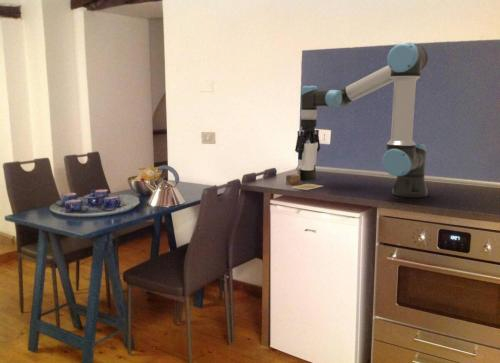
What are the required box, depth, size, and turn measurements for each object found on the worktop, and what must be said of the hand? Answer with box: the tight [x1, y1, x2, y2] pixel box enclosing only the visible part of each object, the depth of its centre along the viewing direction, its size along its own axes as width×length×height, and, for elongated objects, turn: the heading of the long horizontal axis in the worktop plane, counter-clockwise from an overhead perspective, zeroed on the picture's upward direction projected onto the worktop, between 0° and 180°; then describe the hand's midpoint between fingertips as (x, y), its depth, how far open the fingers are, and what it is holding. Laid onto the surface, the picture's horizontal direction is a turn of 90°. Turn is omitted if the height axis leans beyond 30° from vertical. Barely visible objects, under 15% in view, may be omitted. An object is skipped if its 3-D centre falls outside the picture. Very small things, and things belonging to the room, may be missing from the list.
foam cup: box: [300, 141, 318, 170], centre depth 225 cm, size 10×9×13 cm
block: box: [285, 173, 301, 187], centre depth 233 cm, size 5×5×5 cm
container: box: [299, 165, 317, 182], centre depth 245 cm, size 9×9×18 cm
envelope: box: [290, 183, 324, 191], centre depth 227 cm, size 10×14×1 cm
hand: (307, 165), depth 225 cm, fingers closed on foam cup, 9 cm apart
